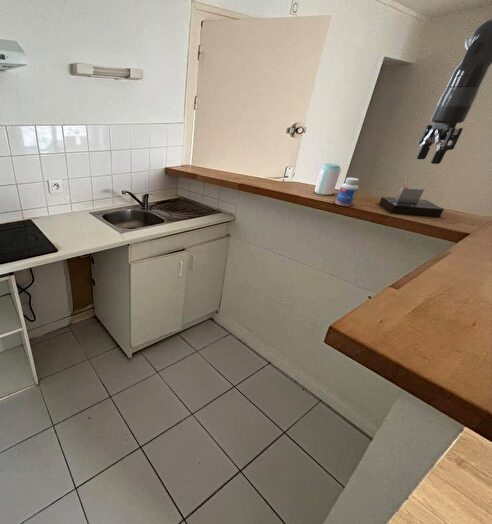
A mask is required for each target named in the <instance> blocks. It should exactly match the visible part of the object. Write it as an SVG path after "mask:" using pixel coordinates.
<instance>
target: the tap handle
mask: <svg viewBox="0 0 492 524" xmlns="http://www.w3.org/2000/svg"><path fill="white" fill-rule="evenodd" d="M424 191H425V188H422V187H407V186H401V187H400V189H399V191H398V194H397V196H396V197H395V198H396V200H395V201H397V202H403V203H418V201H419V199H421V197H422V196H423V193H424Z"/></svg>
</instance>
